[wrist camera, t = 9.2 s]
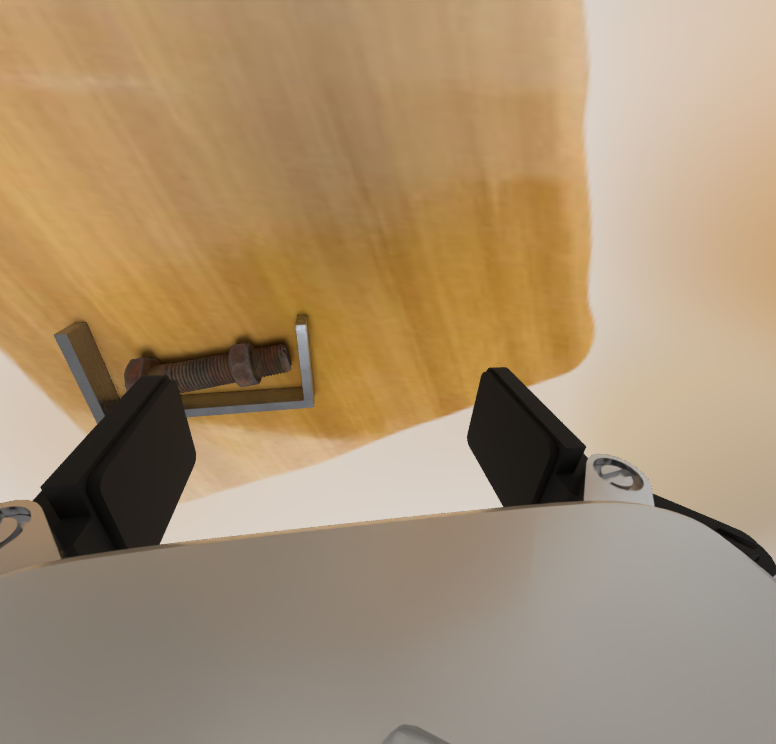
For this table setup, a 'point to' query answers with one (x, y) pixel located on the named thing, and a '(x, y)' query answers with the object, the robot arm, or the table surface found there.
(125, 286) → the table surface
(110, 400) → the dock
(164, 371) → the bolt
